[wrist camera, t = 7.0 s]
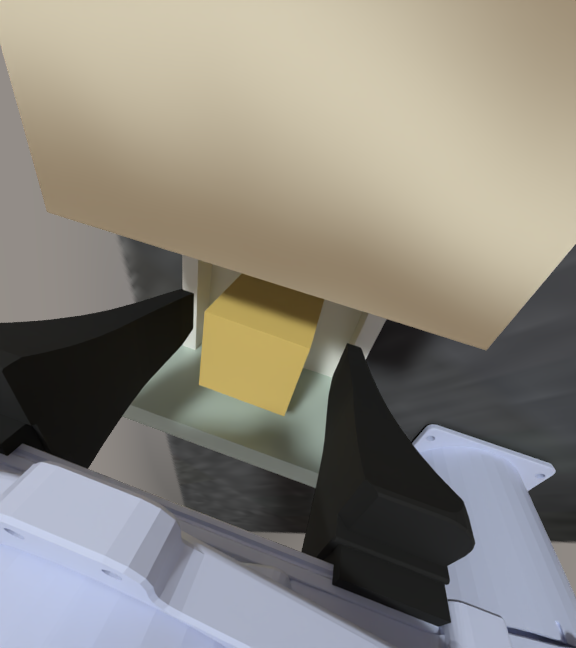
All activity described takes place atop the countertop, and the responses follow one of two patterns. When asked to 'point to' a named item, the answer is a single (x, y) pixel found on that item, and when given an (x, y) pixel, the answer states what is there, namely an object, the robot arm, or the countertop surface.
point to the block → (258, 342)
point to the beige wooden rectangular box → (316, 141)
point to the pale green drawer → (241, 417)
